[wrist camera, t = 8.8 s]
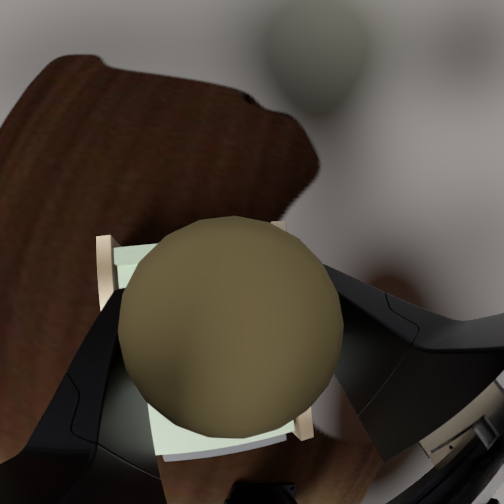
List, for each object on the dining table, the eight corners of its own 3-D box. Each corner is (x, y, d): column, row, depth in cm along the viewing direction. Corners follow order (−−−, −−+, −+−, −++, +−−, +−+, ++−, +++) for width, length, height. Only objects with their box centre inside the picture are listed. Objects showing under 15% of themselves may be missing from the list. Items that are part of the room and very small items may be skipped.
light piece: (283, 429, 18) (300, 445, 15) (159, 450, 16) (156, 471, 12) (257, 245, 21) (271, 233, 18) (124, 257, 18) (113, 247, 15)
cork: (234, 252, 16) (326, 152, 6) (269, 347, 15) (407, 393, 5) (136, 283, 14) (46, 224, 4) (172, 383, 14) (163, 508, 3)
